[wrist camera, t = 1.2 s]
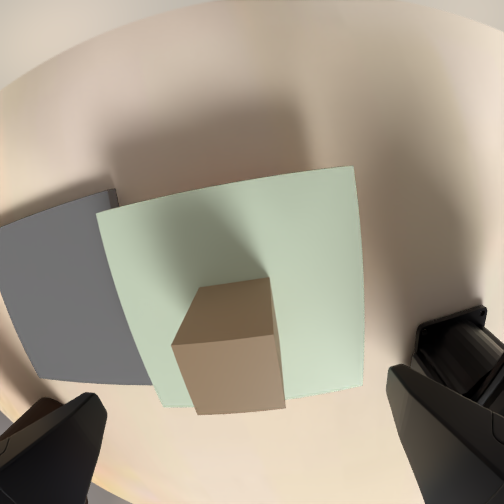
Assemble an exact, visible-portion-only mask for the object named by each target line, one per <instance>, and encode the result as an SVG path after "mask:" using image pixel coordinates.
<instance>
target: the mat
mask: <svg viewBox="0 0 504 504" xmlns="http://www.w3.org/2000/svg"><path fill="white" fill-rule="evenodd" d="M117 207H119V204H118V200H117V195H116V190H115V189H111V190H106V191H103V192H99V193H96V194H93V195H90V196H86V197H83V198H80V199H77V200H74V201H71V202H68V203H65V204H62V205H59V206H56V207H53V208H50V209H47V210H44V211H42V212H39V213H36V214H33V215H31V216H28V217H25V218H23V219H20V220H17V221H15V222H12V223H10V224H7V225H5V226H2V227H0V292H1V295H2V297H3V300H4V303H5V305H6V308H7V311H8V313H9V316H10V318H11V320H12V323H13V325H14V328H15V330H16V332H17V334H18V337H19V339H20V341H21V343H22V345H23V347H24V349H25V351H26V353H27V355H28V357H29V359H30V361H31V363H32V365H33V367H34V369H35V371H36V373H37V375H38V376H39V378H43V379H51V380H60V381H70V382H82V383H96V384H117V385H153V384H152V382H151V379H150V377H149V375H148V373H147V370H146V368H145V366H144V363H143V361H142V358H141V356H140V353H139V351H138V349H137V346H136V343H135V341H134V338H133V336H132V333H131V330H130V328H129V325H128V322H127V319H126V317H125V314H124V311H123V308H122V305H121V302H120V299H119V296H118V293H117V290H116V287H115V284H114V280H113V277H112V274H111V270H110V267H109V263H108V260H107V256H106V253H105V249H104V245H103V241H102V237H101V233H100V229H99V225H98V221H97V217H96V213H99V212H102V211H105V210H109V209H113V208H117Z"/></svg>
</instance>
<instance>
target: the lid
mask: <svg viewBox="0 0 504 504" xmlns="http://www.w3.org/2000/svg"><path fill="white" fill-rule="evenodd" d="M96 217H97V221H98V225H99V229H100V233H101V237H102V241H103V245H104V249H105V253H106V256H107V260H108V263H109V267H110V270H111V274H112V277H113V280H114V284H115V287H116V290H117V293H118V296H119V299H120V302H121V305H122V308H123V311H124V314H125V317H126V319H127V322H128V325H129V328H130V330H131V333H132V336H133V338H134V341H135V343H136V346H137V349H138V351H139V353H140V356H141V358H142V361H143V363H144V366H145V368H146V370H147V373H148V375H149V377H150V379H151V382H152V384H153V386H154V388H155V390H156V393H157V395H158V397H159V399H160V401H161V403H162V405H163V407H195V410H196V412H197V414H198V415H212V414H231V413H245V412H256V411H266V410H275V409H283V408H286V406H285V400H287V399H294V398H301V397H307V396H313V395H319V394H325V393H330V392H335V391H340V390H345V389H350V388H354V387H359V386H363V369H364V276H363V257H362V242H361V229H360V218H359V208H358V198H357V190H356V182H355V174H354V167H353V166H341V167H333V168H324V169H317V170H309V171H301V172H294V173H287V174H281V175H274V176H268V177H261V178H255V179H249V180H244V181H238V182H232V183H227V184H221V185H216V186H211V187H206V188H201V189H196V190H191V191H186V192H181V193H177V194H172V195H167V196H163V197H158V198H154V199H150V200H145V201H141V202H137V203H133V204H129V205H125V206H121V207H117V208H113V209H109V210H105V211H102V212H99V213H96Z"/></svg>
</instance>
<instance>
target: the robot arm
mask: <svg viewBox="0 0 504 504" xmlns="http://www.w3.org/2000/svg"><path fill="white" fill-rule="evenodd" d="M486 315H487V308H486V307H485V306H483V305H480V306H477V307H474V308H471V309H468V310H465V311H462V312H459V313H456V314H453V315H450V316H446V317H443V318H440V319H436V320H433V321H430V322H426V323H423V324H421V325H420V326H419V327H418V329H417V334H416V343H415V351H414V354H413V356H412V361H411V368H410V367H408V366H406V365H404V364H398V365H395V366H391V367H390V368H389V370H388V377H387V385H386V393H387V397H388V400H389V403H390V407H391V410H392V414H393V417H394V421H395V424H396V428H397V431H398V435H399V438H400V440H401V443H402V445H403V448H404V450H405V453H406V455H407V458H408V460H409V463H410V465H411V468H412V470H413V473H414V475H415V478H416V480H417V483H418V485H419V488H420V491H421V493H422V496H423V499H424V502H425V504H504V344H503V343H502V342H501V341H500V340H499V339H498V338H497V337H495V336H494V335H493V334H492V333H491V332H490V331H489V330H487V329H486V328H485V327H484V325H485V320H486ZM425 329H426V330H425ZM424 330H425V331H424ZM423 331H424V332H423ZM422 332H423V333H422ZM106 420H107V411H106V409H105V407H104V406H103V404H102V402H101V401H100V399H99V397H98V395H96V394H95V393H89V392H85V393H83V394H81V395H80V396H78V397H76V398H75V399H73V400H71V401H70V402H68V403H66V404H65V405H63V406H61V407H60V408H58V409H56V410H55V411H53V412H51V413H50V414H48V415H46V416H45V417H43V418H41V419H39V420H38V421H36V422H34V423H33V424H31V425H29V426H27V427H26V428H24V429H22V430H21V431H19V432H17V433H15V434H14V435H12V436H11V437H8V438H6V439H5V440H3V441H1V442H0V504H85V501H86V497H87V493H88V490H89V487H90V483H91V480H92V476H93V473H94V470H95V466H96V463H97V460H98V456H99V453H100V449H101V444H102V439H103V434H104V429H105V425H106Z"/></svg>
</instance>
